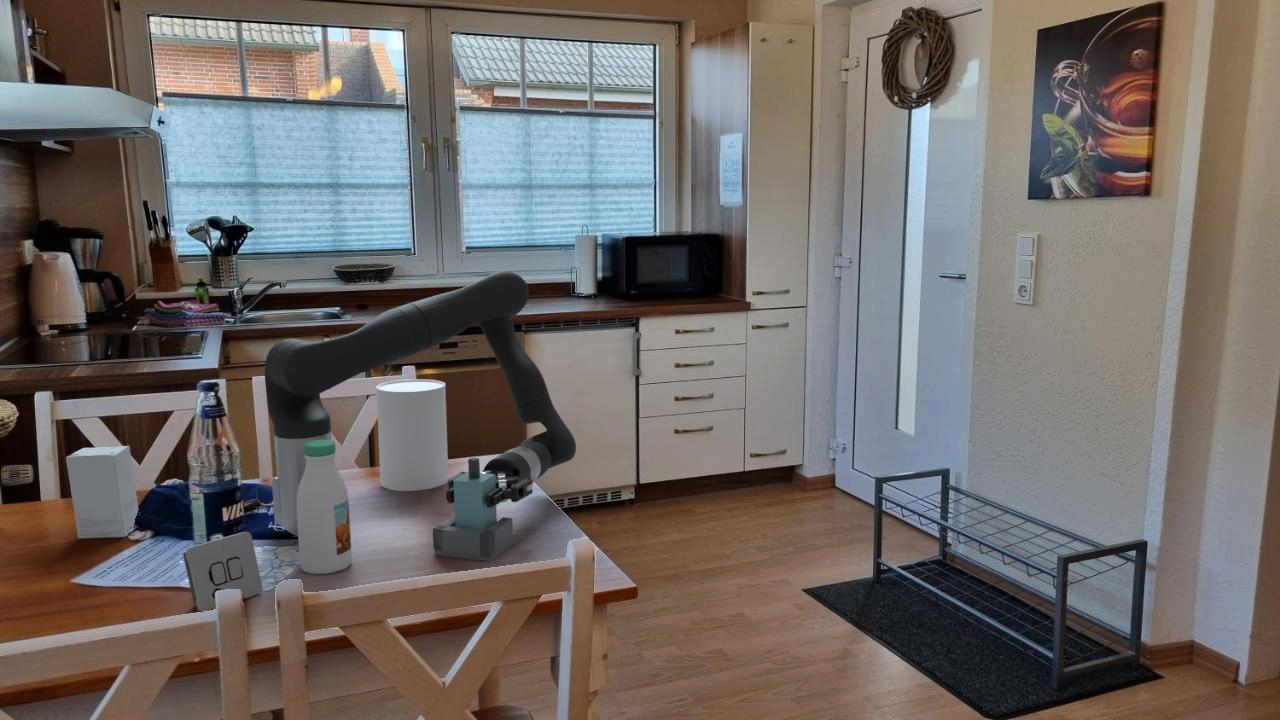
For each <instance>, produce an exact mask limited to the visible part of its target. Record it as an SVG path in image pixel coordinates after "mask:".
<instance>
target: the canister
mask: <svg viewBox="0 0 1280 720" xmlns="http://www.w3.org/2000/svg"><path fill="white" fill-rule="evenodd" d="M375 388H376V406H377V407H376V408H377V409H376V410H377V411H376V412H377V427H378V430H377V431H378V432H377V433H378V453H379V455H378V457H379V475H380V478H379V479H380V486H381V487H383V488H385V489H387V490H391V491H399V492H413V491H414V492H415V491H424V490H430V489H434V487H435V488H438V487H441V486H443V485H445V484H447V483H448V480H449V460H448V459H449V458H448V456H449V455H448V453H449V452H448V430H447V429H448V427H447V399H446V398H447V396H446V382H444V381H441V380H436V379H424V378H423V379H422V378H421V379H420V378H419V379H418V378H417V379H411V378H409V379H397V380H391V381H386V382H382V383H379V384H378V385H376V386H375Z"/></svg>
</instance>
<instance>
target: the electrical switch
mask: <svg viewBox="0 0 1280 720" xmlns="http://www.w3.org/2000/svg"><path fill="white" fill-rule="evenodd" d="M182 556H183V561H184V564H185V570H186V575H187V579H188V583H189V584H188V585H189V590H190V593H191V598H192V602H193V606H194V607H196V608H197V611H198V612H200V611H207V610H210V611H212V610H211V609H213V610H215V593H216V591H217V590H225V589H240V590H242V591H243V596H244V599H243V600H245V598H246V599H249V598H251V597H254V596H257V595H260V594H261V593H262V592H263V584H262V583H263V582H262V578H261V574H260V568H259V566H258V561H257V556H256V551H255V545H254V542H253V536H252V533H251V532H248V531H243V532H238V533H234V534H232V535H228V536H225V537H220V538H216V539H212V540H209V541H207V542H203V543H200V544H194V545H193V546H190V547H187V549H186V551H185V552H183V553H182Z"/></svg>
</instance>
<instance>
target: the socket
mask: <svg viewBox="0 0 1280 720" xmlns="http://www.w3.org/2000/svg"><path fill="white" fill-rule="evenodd" d="M513 525H514V523H513V518H512V517H502V518H500V519H499V520H497V522H496V523H495V524H493V525H492V526H490V527H489V528H488V529H486V530H479V529H470V528H462V527H456V526H455V514H454V515H453V516H450V517H449V518H447V519H446V520H444V521H442V522H441V523H440V524H438V525H436V526H435V527H434V528H432V537H433V538H432V539H433V544H432V545H433V550H434V555H435V556H440V557H441V556H442V557H449V558H456V557H458V558H457V559H464V558H466V560H472V559H475V560H474V561H480V560H482V562H488V563H489V562H490V563H491V562H492V561H494V560H495V559H496V558H498V556H500V555H501V554H503V553H504V552H505V551H506V550H507V549H509V548H510V547H511V546H513V545H514V544H515V543H517V541H518V534H514V532H513V530H514V526H513ZM493 559H494V560H493ZM483 560H484V561H483Z"/></svg>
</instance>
